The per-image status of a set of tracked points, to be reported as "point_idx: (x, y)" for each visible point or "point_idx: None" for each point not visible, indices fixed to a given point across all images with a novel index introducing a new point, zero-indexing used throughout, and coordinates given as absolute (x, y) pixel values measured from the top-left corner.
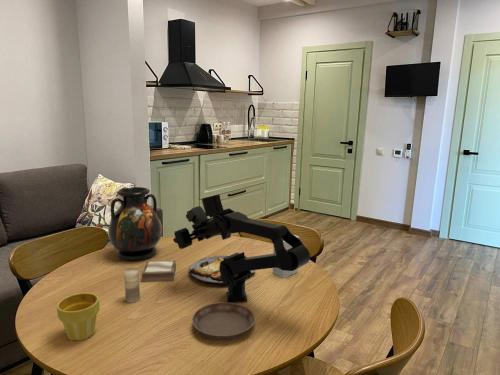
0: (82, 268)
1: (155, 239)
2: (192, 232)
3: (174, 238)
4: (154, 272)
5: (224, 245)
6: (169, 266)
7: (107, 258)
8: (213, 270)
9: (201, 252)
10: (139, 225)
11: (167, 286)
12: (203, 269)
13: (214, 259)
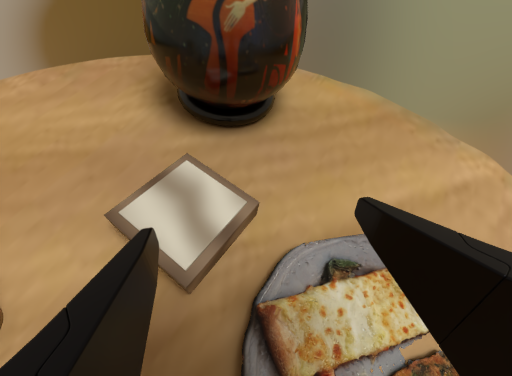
0: (95, 84)
1: (252, 88)
2: (361, 207)
3: (116, 257)
4: None
5: (449, 184)
6: (209, 230)
7: (167, 80)
8: (350, 351)
9: (370, 179)
10: (195, 8)
11: None
12: (318, 310)
13: None
